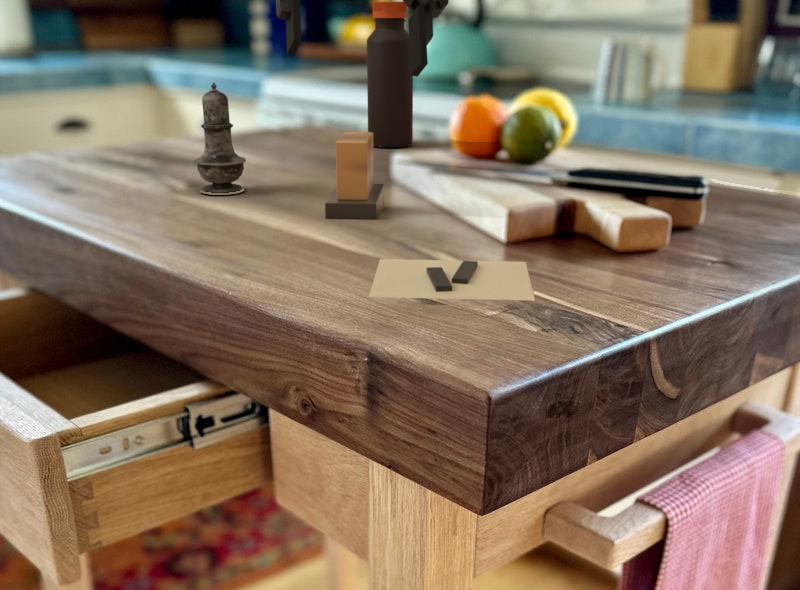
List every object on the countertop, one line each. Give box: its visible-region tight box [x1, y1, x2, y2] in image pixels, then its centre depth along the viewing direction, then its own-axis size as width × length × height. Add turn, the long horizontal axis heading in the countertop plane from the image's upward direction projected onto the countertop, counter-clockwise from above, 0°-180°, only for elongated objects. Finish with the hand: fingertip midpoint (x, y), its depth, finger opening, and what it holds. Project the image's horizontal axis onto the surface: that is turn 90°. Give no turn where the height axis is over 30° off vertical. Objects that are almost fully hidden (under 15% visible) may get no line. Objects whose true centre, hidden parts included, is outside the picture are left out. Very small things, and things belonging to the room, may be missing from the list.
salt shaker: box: [193, 81, 247, 193], centre depth 99 cm, size 6×6×12 cm
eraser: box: [324, 131, 386, 221], centre depth 88 cm, size 10×5×8 cm, turn 176°
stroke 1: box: [427, 267, 452, 292], centre depth 66 cm, size 5×1×1 cm, turn 6°
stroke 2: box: [452, 260, 478, 284], centre depth 68 cm, size 5×1×1 cm, turn 166°
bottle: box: [366, 0, 414, 148], centre depth 129 cm, size 7×7×20 cm
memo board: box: [368, 258, 536, 302], centre depth 67 cm, size 12×10×1 cm
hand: (358, 59), depth 89 cm, fingers open, 13 cm apart
